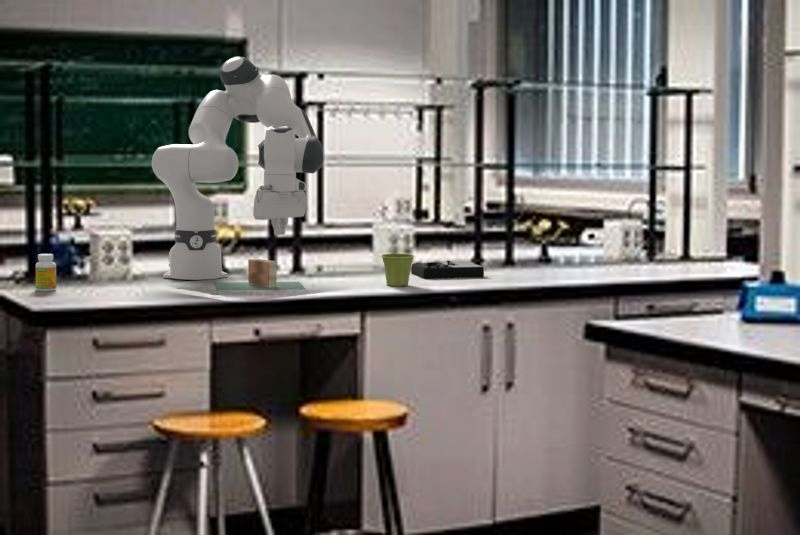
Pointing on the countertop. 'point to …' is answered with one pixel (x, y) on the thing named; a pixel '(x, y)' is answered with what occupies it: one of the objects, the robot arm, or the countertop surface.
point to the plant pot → (397, 268)
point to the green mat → (253, 287)
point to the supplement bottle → (45, 273)
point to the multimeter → (447, 270)
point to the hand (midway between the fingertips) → (279, 234)
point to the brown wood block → (262, 272)
